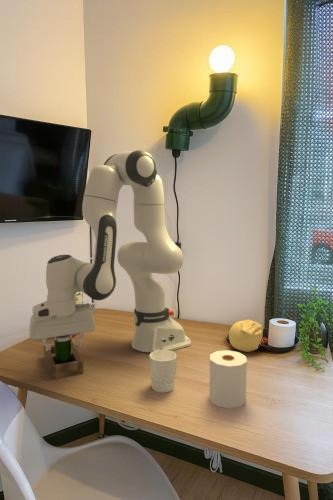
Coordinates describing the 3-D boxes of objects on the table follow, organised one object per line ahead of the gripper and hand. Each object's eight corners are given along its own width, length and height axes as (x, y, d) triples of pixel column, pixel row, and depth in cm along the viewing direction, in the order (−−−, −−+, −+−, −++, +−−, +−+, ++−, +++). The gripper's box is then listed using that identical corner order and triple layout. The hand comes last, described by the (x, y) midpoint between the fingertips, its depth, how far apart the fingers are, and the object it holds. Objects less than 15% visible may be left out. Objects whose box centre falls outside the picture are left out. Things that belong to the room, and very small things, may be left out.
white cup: (167, 396, 108) (167, 363, 107) (144, 389, 112) (144, 357, 111) (181, 384, 115) (181, 353, 113) (159, 378, 119) (159, 347, 118)
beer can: (58, 376, 121) (56, 339, 119) (53, 369, 125) (51, 334, 123) (75, 371, 123) (73, 336, 122) (69, 365, 128) (68, 331, 126)
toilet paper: (221, 412, 101) (222, 368, 99) (202, 393, 110) (202, 353, 108) (253, 403, 105) (254, 361, 103) (232, 386, 114) (233, 347, 112)
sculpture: (253, 357, 134) (254, 328, 132) (223, 349, 141) (224, 321, 139) (266, 347, 143) (268, 319, 141) (237, 339, 150) (238, 313, 148)
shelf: (73, 352, 138) (72, 341, 138) (83, 373, 122) (82, 361, 122) (44, 357, 135) (43, 346, 134) (50, 379, 118) (50, 367, 118)
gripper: (92, 300, 128) (93, 339, 130) (27, 307, 120) (29, 349, 122) (96, 305, 123) (97, 346, 125) (28, 313, 114) (31, 357, 117)
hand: (63, 348), depth 123 cm, fingers open, 8 cm apart
